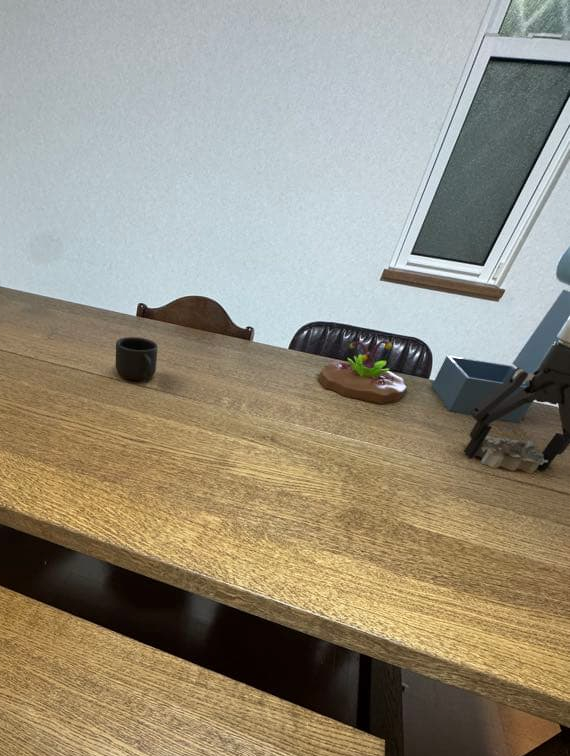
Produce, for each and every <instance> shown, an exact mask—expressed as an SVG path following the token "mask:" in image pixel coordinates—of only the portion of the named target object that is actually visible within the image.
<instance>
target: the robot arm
mask: <svg viewBox="0 0 570 756" xmlns="http://www.w3.org/2000/svg"><path fill="white" fill-rule="evenodd" d="M555 277H556V279H557V280H558V282H560V283H562V284H565V285H567V286H569V287H570V245H569V246H568V247H567V248H566V249H565V250H564V251H563V253H562V254H561V256H560V258H559V260H558V262H557V264H556V268H555ZM557 337H558V339H559V341H556V342H554V343H552V345H551V347H550V348H549V350H548V351H547V353H546V354H545V356H544V358H543V359H542V361H541V363H540V366H539V368H538V369H537V370H536V371H535V372H533V373H531V372H527V371H524V370H523V369H522V368H517V367H516V368H515V370H514V372H513V373H512V374H511V376H510V377H509V379H508V380H507V381H505V382H504V383H503V384H502V385H501V386H500V387H498V388H497V389H496V390H495V391H494V392H492V393H491V394H490V395H489V396H488V397H486V398H485V399H484V400H483V401H482V402H480V403H479V404H478V405H477V406H476V407H475V408H473V409H472V410H471V411H470V414H471V415H470V414H469V415H470V416H472V418H473V419H474V420H475V421H476V422H475V424H474V426H473V427H472V429H471V431H470V433H469V437H470V440H469V442H468V444H467V445H466V447H465V448H464V450H463V451H464V453H465V455H466V456H467V457H468V458H469V459H473V458H474V457H475V456H476V455H475V454H476V452H477V451H478V449H479V447H480V446H481V444H482V443H483V441H484V439H485V438H486V436H487V435H489V433H490V431H491V430H492V427H493V426H492V425H491V424H492V423H493V422H495V421H498V420H500V419H499V418H501V417H502V416H504V415H506V414H508V413H510V412H511V411H513V410H515V409H517V408H519V407H520V406H522V405H524V404H526V403H531V402H534V401H536V402H538V403H549V404H551V405H557V406H558V411H559V416H560V417H559V419H560V425H561V430H562V431H561V432H562V433H561V432H556V433H555V434H554V436H553V437H552V438H551V440H550V441H549V442H548V444H547V445H546V447H545V448H544V449H543V450H542V452H540V453H541V454H544V457H543V459H544V460H548V462H544V463H543V464H542V465H541V464H540V465H539V466H538V467H537V469H538V470H539V471H543V472H545V471H546V470H547V469H548V468H549V466H550V465H551V464H552V462H553V461H554V460H555V459H556V457H557V456H558V455H562V454H563V453H564V452H565V451H566V450H567V448H568V447H569V446H570V317H569V318H568V320H567V321H566V323H565V324H564V326H563V327H562V329H561V331H560V332H559V334H558V335H557ZM527 381H529V385H528V386H526V387H524V388H522V389H521V390H519V391H518V393H517V394H515V395H513V396H512V397H510V398H508V399H506V398H507V397H508V396H509V395H511V394H512V393H513V392H514V391H516V390H517V389H518V388H519V387H520V386H521V385H522V384H525V383H526V382H527ZM528 393H530V394H528ZM505 399H506V400H505ZM503 400H505V401H503ZM502 401H503V402H502Z"/></svg>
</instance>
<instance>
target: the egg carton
mask: <svg viewBox="0 0 570 756" xmlns="http://www.w3.org/2000/svg"><path fill="white" fill-rule="evenodd" d="M541 453H542V452H541V451H540V449H539V448H538V446H535V444H534V442H533V440H531V439H529V440H518V439H517V440H516V439H513V440H512V439H511V438H510V437H509V438H508V437H507V438H502V437H493V436H491V435H489V434H488V435H487V436H486V438H485V439H484V441H483V443H482V444H481V446H480V447H479V449H478V451H477V452H476V454H475V455H474V456H476V457H479V458H481V460H480V463H481V464H482V465H484V466H488V467H489V468H492V469H498V468H499V467H502V468H504V469H507V470H508V471H513V472H515V471H516V470H522V471H524V472H525V473H527V474H533V473H534V471H537V469H538V466H539V465H540V464H541V465H542V464H543V463H544V462H548V460H544V459H543V457H544V454H541Z"/></svg>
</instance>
